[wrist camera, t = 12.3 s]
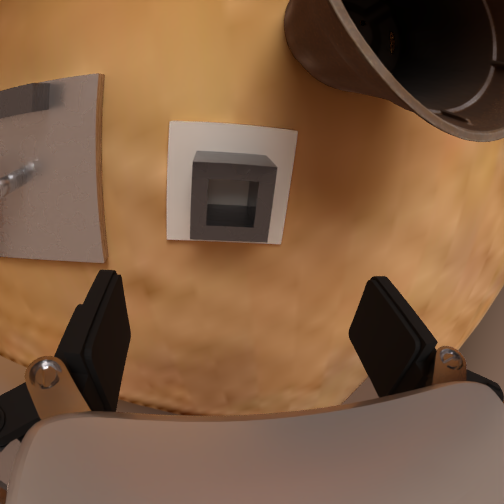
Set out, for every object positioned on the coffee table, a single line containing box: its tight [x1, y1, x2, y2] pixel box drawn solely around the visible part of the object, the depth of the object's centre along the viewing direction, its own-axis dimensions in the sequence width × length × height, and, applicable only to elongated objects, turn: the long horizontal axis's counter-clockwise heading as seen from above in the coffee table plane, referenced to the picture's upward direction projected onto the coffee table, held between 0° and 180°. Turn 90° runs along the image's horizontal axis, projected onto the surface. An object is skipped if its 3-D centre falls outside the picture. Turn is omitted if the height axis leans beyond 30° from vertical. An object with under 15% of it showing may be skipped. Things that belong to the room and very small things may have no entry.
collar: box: [190, 151, 278, 243], centre depth 24 cm, size 6×6×5 cm
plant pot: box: [284, 0, 504, 142], centre depth 14 cm, size 16×16×16 cm
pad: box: [167, 121, 298, 244], centre depth 27 cm, size 11×11×1 cm
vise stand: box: [0, 73, 108, 263], centre depth 21 cm, size 18×18×6 cm
